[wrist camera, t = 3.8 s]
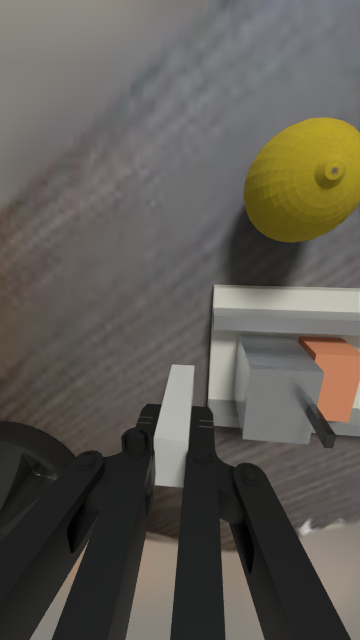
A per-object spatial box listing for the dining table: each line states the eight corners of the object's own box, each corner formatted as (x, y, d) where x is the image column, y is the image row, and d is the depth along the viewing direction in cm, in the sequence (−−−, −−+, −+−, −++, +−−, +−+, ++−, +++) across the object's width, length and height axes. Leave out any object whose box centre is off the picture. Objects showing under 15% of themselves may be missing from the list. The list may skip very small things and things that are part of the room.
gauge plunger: (233, 392, 21) (248, 473, 14) (238, 335, 19) (259, 393, 12) (284, 395, 20) (326, 480, 13) (293, 337, 19) (347, 399, 12)
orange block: (289, 393, 20) (303, 419, 18) (299, 336, 19) (316, 354, 16) (328, 395, 20) (348, 421, 17) (341, 338, 19) (366, 356, 16)
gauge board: (206, 413, 23) (207, 487, 16) (213, 284, 19) (219, 311, 13) (416, 428, 22) (513, 516, 15) (468, 291, 18) (631, 325, 11)
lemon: (220, 214, 18) (232, 199, 10) (268, 133, 16) (326, 42, 8) (285, 255, 18) (342, 270, 11) (338, 181, 17) (452, 135, 9)
